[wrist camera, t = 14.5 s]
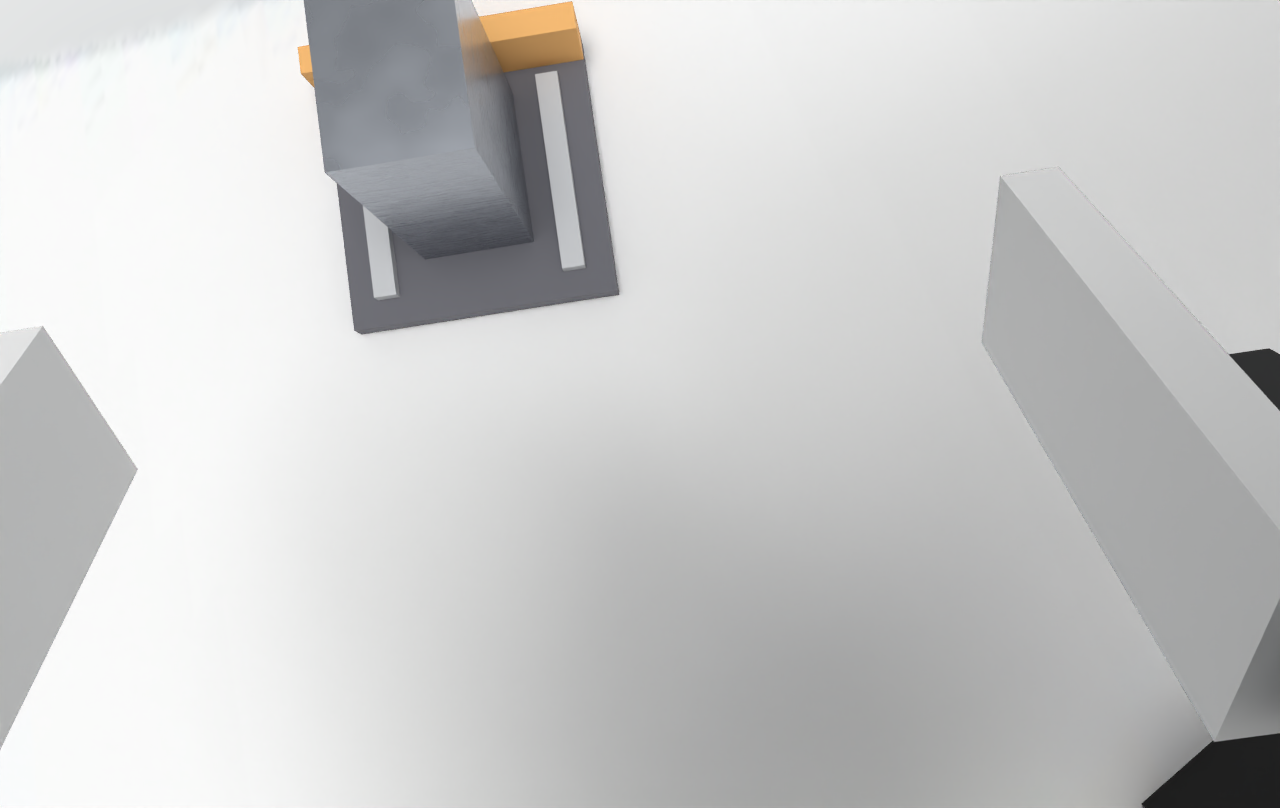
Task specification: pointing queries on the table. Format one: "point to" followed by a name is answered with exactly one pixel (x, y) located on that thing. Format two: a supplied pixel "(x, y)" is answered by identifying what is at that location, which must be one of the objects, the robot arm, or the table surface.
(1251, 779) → the electrical component
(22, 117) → the table surface
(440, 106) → the alu block
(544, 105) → the coupler dock
